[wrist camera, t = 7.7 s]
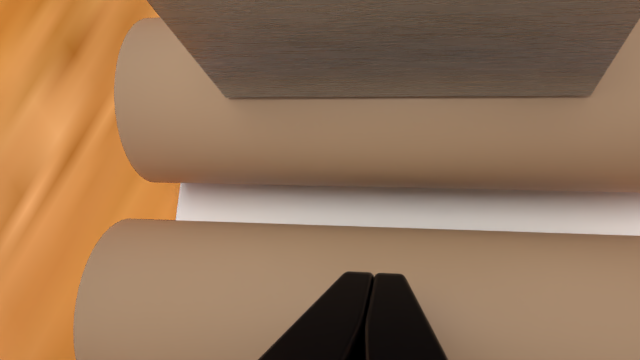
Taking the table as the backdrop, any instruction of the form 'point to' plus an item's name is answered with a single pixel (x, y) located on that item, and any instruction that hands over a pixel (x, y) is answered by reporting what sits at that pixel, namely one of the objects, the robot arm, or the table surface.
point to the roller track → (369, 214)
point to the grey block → (401, 45)
